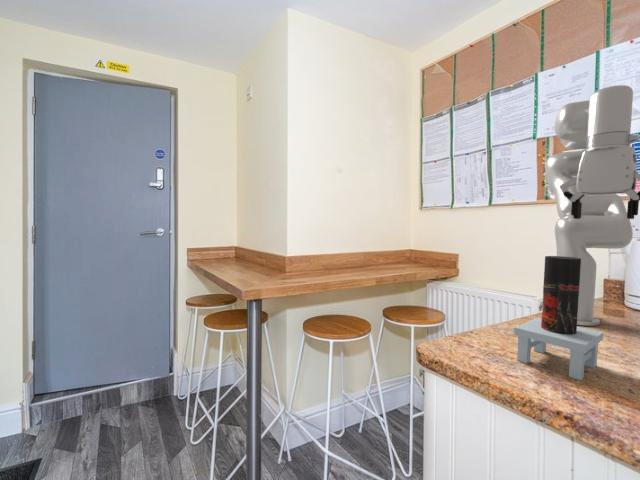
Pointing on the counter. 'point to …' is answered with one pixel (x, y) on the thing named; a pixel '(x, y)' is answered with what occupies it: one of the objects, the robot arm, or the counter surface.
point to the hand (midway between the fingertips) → (602, 218)
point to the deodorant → (561, 294)
